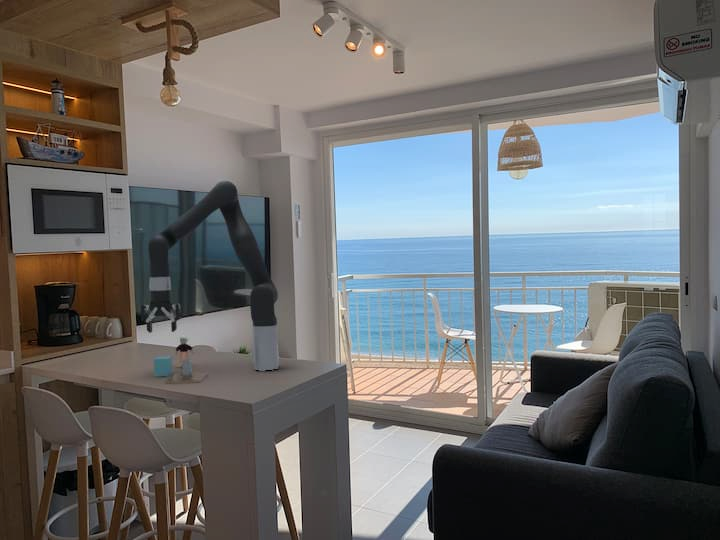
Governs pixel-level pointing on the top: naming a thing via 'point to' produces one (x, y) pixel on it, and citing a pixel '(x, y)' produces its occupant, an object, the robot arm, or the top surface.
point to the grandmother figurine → (183, 350)
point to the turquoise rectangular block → (163, 366)
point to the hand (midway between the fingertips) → (161, 331)
